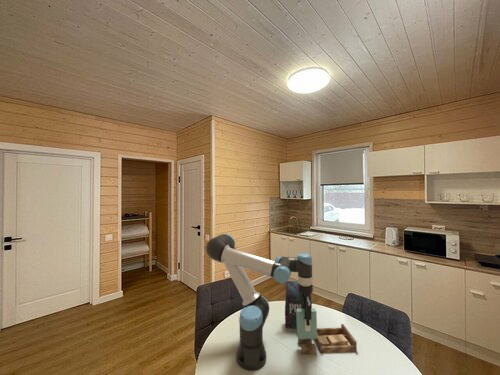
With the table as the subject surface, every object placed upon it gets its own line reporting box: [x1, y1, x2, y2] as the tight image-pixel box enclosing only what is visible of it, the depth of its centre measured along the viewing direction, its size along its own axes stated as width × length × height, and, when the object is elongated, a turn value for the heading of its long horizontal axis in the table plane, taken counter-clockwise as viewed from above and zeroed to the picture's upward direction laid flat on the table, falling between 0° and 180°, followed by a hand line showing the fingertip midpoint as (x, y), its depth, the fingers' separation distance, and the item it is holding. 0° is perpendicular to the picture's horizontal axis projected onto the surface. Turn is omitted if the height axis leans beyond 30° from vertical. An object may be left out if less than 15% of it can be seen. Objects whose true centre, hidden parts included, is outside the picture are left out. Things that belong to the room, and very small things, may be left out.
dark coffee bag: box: [284, 280, 313, 330], centre depth 134 cm, size 8×16×28 cm, turn 80°
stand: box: [297, 338, 317, 356], centre depth 114 cm, size 7×9×5 cm
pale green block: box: [296, 307, 318, 340], centre depth 114 cm, size 10×3×14 cm, turn 91°
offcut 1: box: [319, 336, 329, 346], centre depth 115 cm, size 4×6×3 cm, turn 1°
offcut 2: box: [327, 334, 348, 346], centre depth 116 cm, size 9×5×2 cm, turn 97°
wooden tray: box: [313, 323, 358, 354], centre depth 118 cm, size 19×15×6 cm
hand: (306, 328), depth 114 cm, fingers closed on pale green block, 3 cm apart
